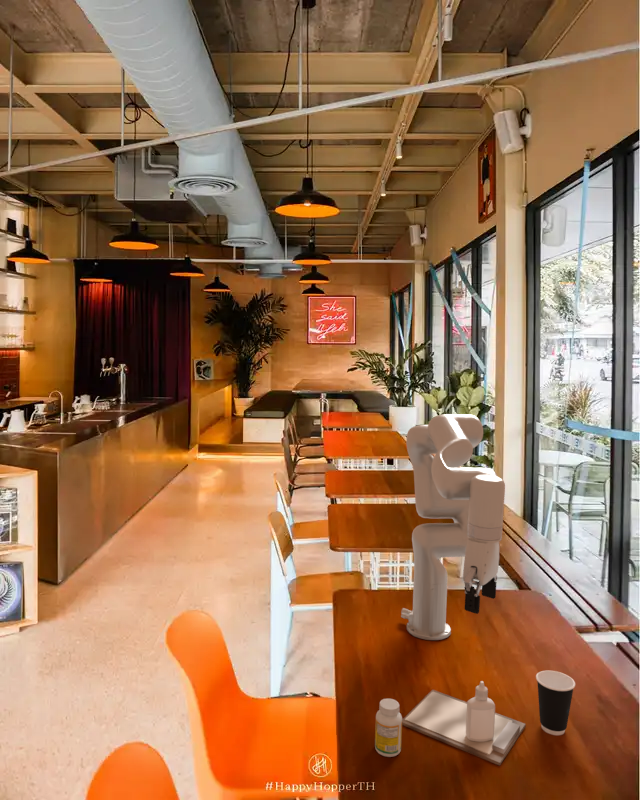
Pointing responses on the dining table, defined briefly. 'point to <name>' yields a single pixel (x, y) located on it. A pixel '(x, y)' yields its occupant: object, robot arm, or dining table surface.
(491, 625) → the dining table surface
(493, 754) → the clipboard
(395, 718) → the supplement bottle
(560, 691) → the dixie cup
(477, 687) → the eye dropper bottle
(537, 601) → the dining table surface
